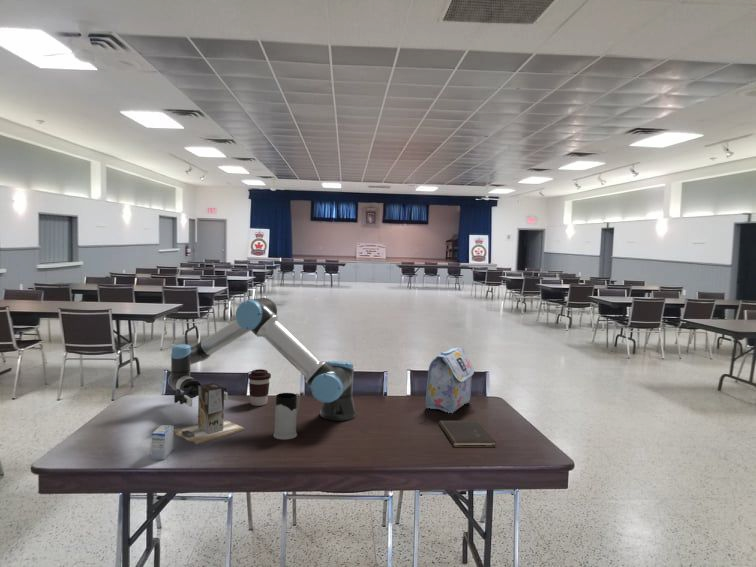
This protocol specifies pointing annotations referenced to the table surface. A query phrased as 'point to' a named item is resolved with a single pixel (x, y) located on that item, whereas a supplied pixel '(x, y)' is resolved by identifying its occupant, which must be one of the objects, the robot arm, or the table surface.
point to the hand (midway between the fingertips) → (209, 399)
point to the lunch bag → (449, 381)
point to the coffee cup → (259, 386)
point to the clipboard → (200, 436)
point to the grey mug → (286, 415)
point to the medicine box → (162, 442)
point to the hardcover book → (466, 433)
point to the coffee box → (211, 408)
